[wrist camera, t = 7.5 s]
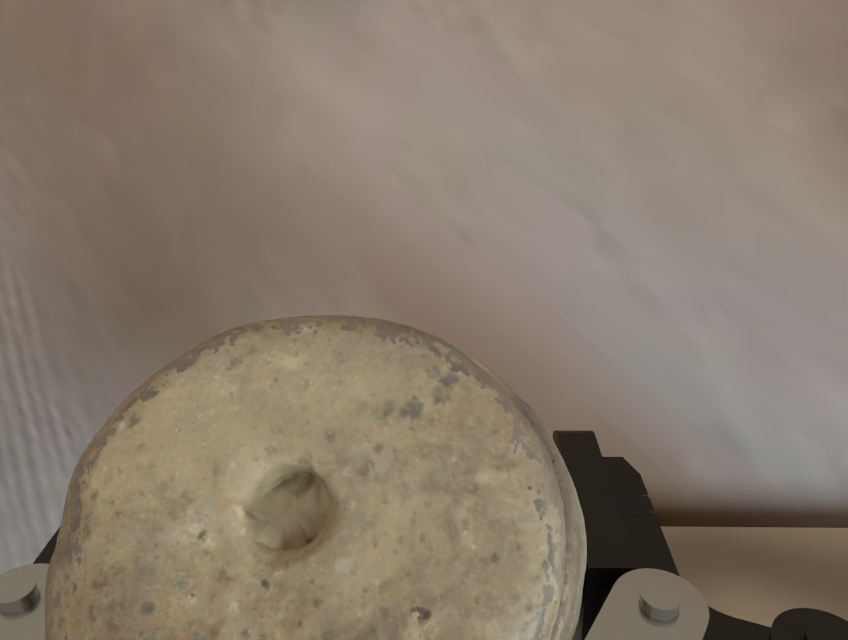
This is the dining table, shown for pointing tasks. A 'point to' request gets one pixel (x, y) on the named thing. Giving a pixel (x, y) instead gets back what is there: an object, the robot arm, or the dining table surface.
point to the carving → (320, 498)
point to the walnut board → (764, 568)
